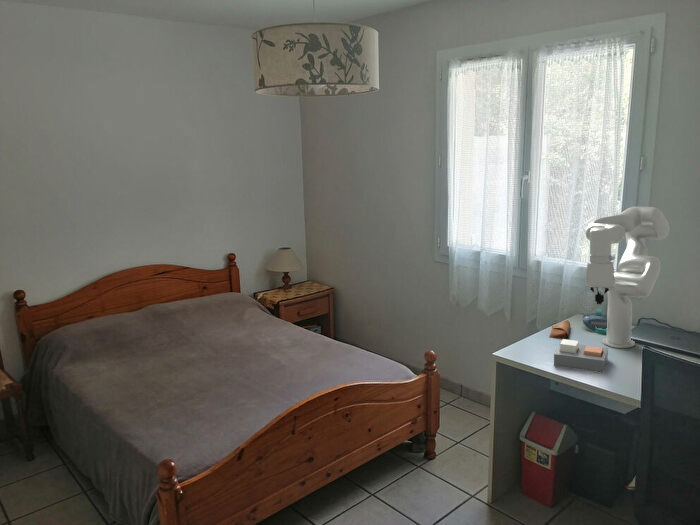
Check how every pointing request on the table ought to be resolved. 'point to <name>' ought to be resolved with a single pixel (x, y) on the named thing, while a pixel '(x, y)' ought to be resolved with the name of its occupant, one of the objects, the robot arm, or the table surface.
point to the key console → (581, 359)
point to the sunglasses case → (560, 330)
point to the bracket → (600, 330)
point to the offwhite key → (569, 346)
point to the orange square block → (593, 351)
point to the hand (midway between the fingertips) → (599, 303)
